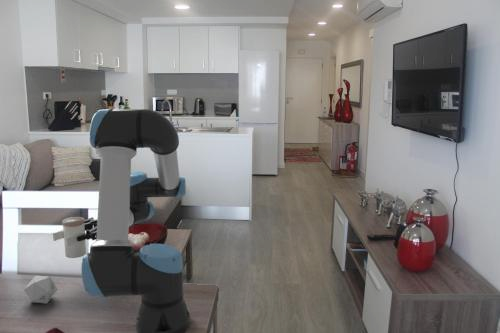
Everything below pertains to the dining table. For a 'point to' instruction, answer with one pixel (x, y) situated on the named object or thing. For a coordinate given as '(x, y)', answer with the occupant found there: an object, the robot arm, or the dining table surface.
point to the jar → (72, 228)
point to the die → (40, 289)
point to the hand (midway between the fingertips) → (60, 239)
